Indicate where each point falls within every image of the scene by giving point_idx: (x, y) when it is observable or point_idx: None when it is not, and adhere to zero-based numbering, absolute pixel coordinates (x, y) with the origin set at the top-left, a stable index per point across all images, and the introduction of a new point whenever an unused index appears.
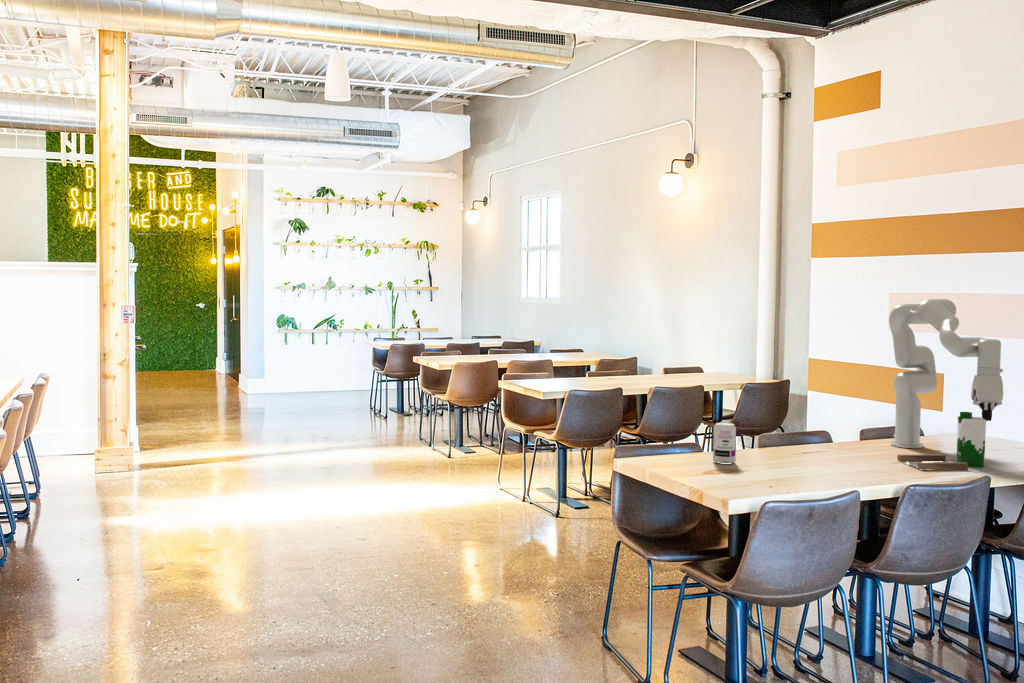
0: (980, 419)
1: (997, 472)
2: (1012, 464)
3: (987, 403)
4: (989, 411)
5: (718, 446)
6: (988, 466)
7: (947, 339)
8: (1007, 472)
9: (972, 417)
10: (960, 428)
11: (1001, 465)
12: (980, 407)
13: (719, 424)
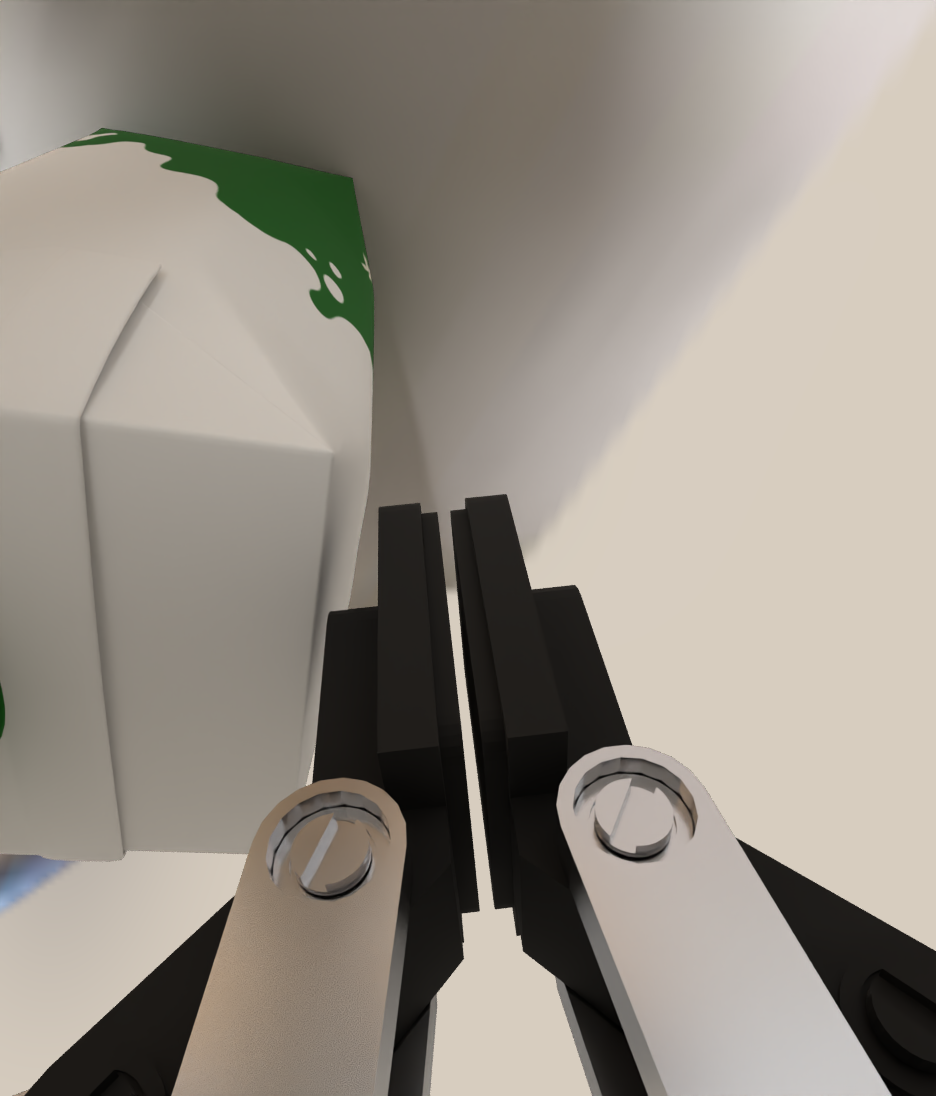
0: (183, 808)
1: (363, 580)
2: (751, 212)
3: (650, 1061)
4: (494, 886)
5: None
6: (411, 336)
7: None
8: (449, 574)
9: (17, 649)
10: None
11: (587, 276)
12: (210, 941)
13: None
